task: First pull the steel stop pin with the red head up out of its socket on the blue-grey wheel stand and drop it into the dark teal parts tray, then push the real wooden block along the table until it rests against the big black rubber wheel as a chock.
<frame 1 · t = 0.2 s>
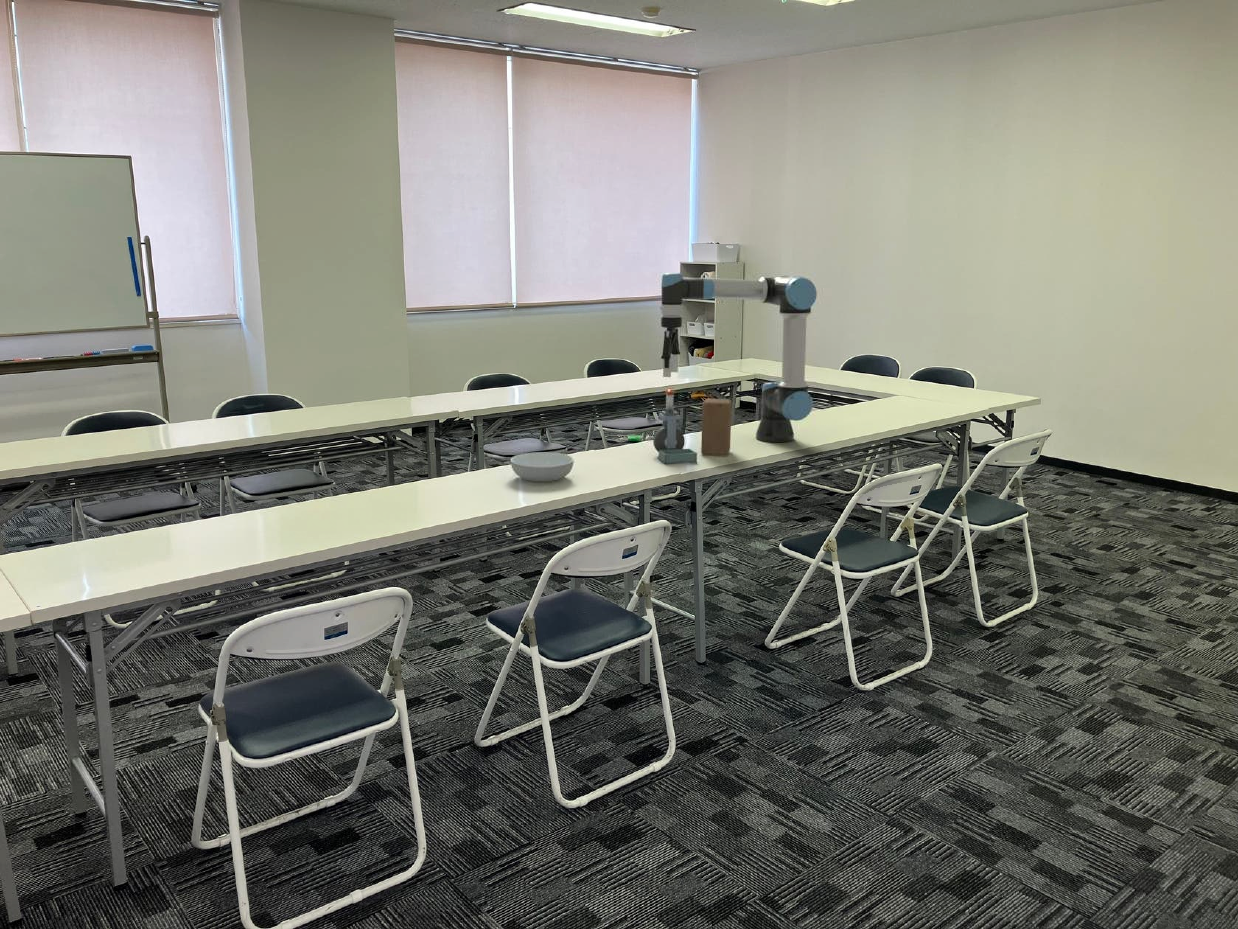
hand: (670, 374, 342), 29 cm above the table, fingers open, 13 cm apart
wooden block: (715, 454, 348), on the table
serving bowl: (542, 479, 308), on the table
wheel stand: (668, 455, 343), on the table
parts tray: (677, 461, 335), on the table
stop pin: (669, 414, 340), point 15 cm above the table, touching wheel stand
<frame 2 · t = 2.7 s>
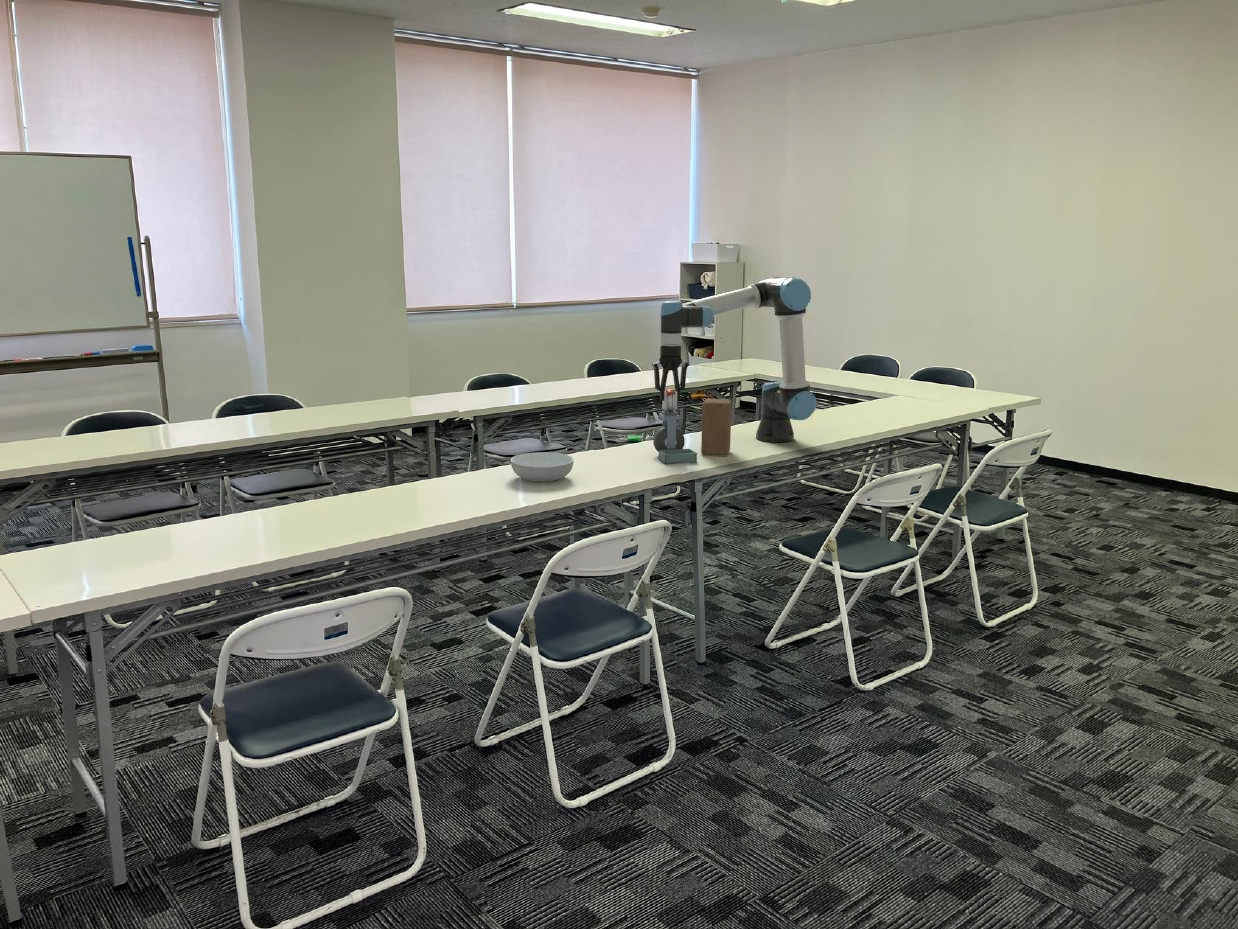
hand: (669, 408, 339), 18 cm above the table, fingers closed on stop pin, 3 cm apart
stop pin: (669, 414, 340), point 16 cm above the table, touching gripper, wheel stand
everything else where it was.
when the fingers open (5 cm above the table, at t = 7.7 s): stop pin drops 2 cm, resting on parts tray.
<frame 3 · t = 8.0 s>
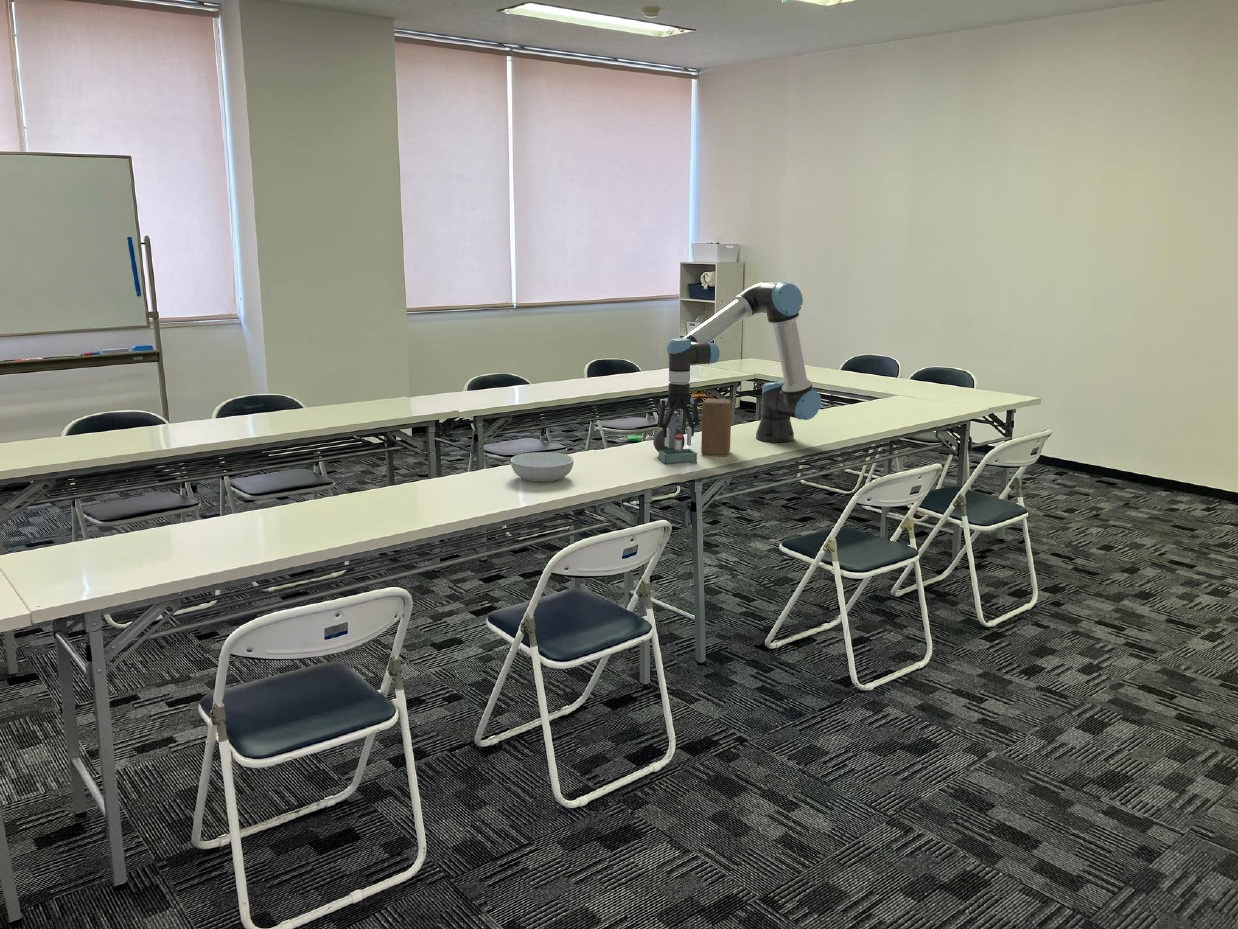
hand: (677, 445, 334), 6 cm above the table, fingers open, 8 cm apart
stop pin: (677, 459, 335), point 1 cm above the table, touching parts tray
everything else where it was.
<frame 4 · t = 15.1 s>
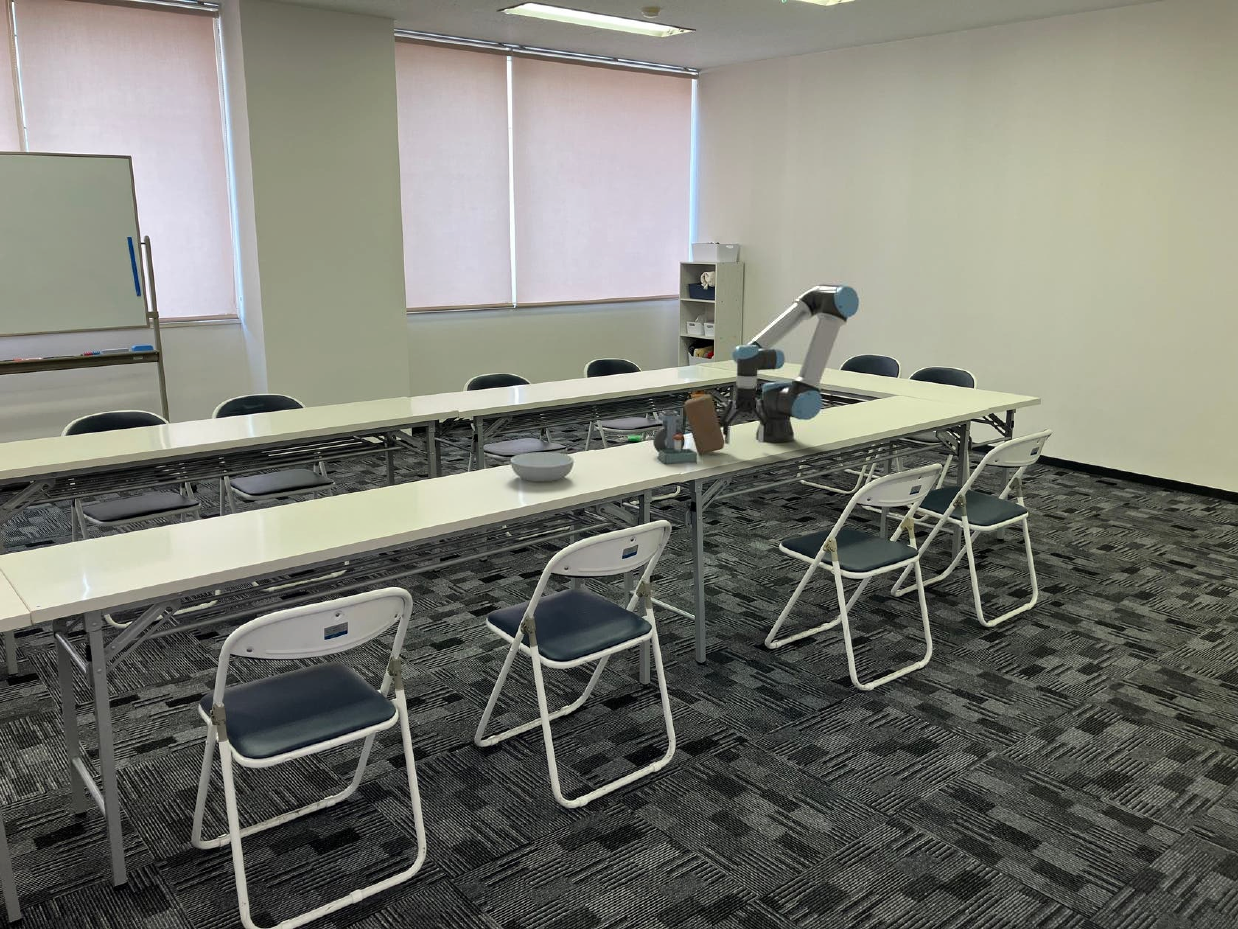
hand: (743, 442, 350), 3 cm above the table, fingers open, 13 cm apart
wooden block: (711, 450, 347), point 1 cm above the table, touching gripper, hand
everything else where it was.
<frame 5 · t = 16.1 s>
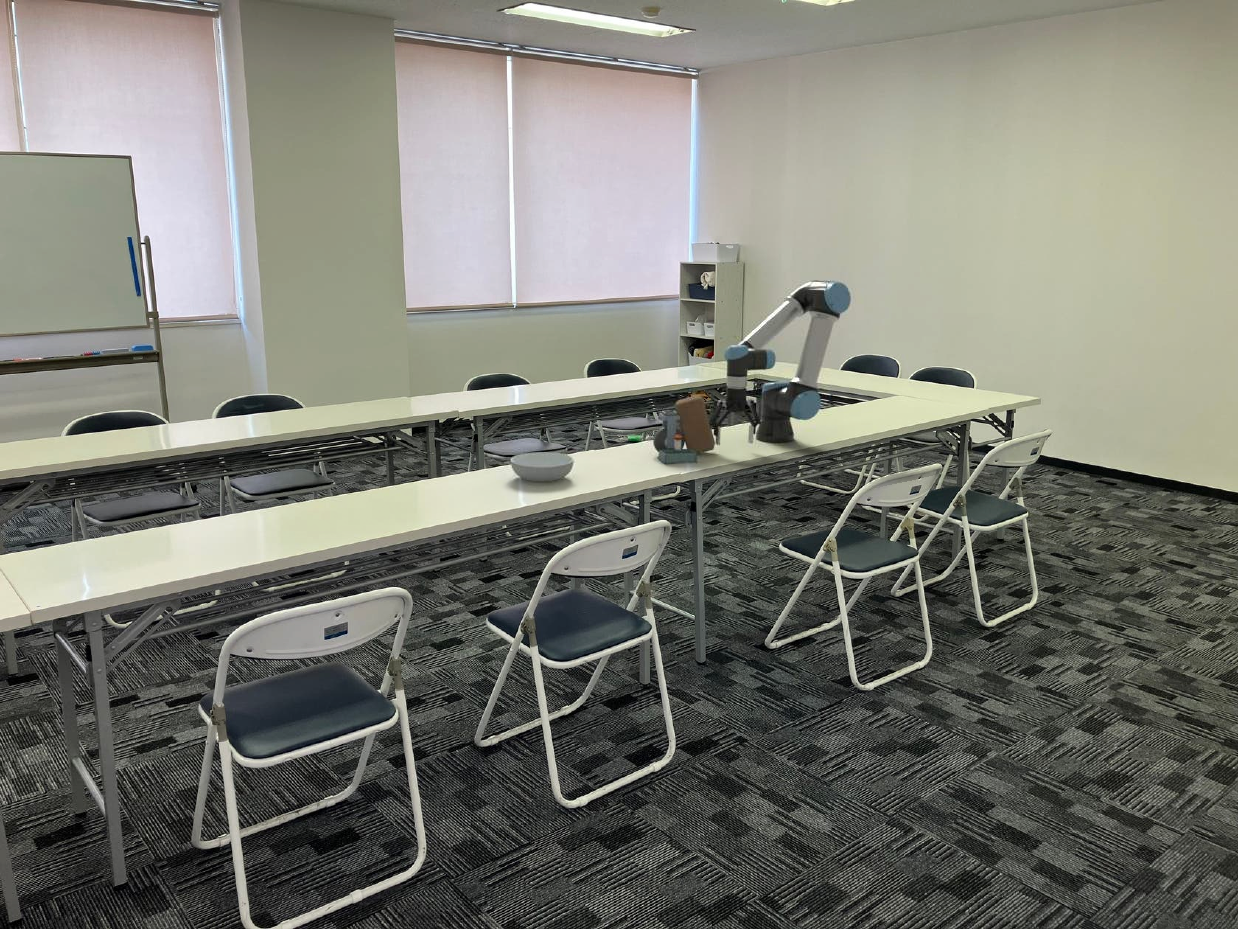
hand: (734, 443, 349), 3 cm above the table, fingers open, 12 cm apart
wooden block: (702, 450, 347), point 1 cm above the table, touching hand, wheel stand
everything else where it was.
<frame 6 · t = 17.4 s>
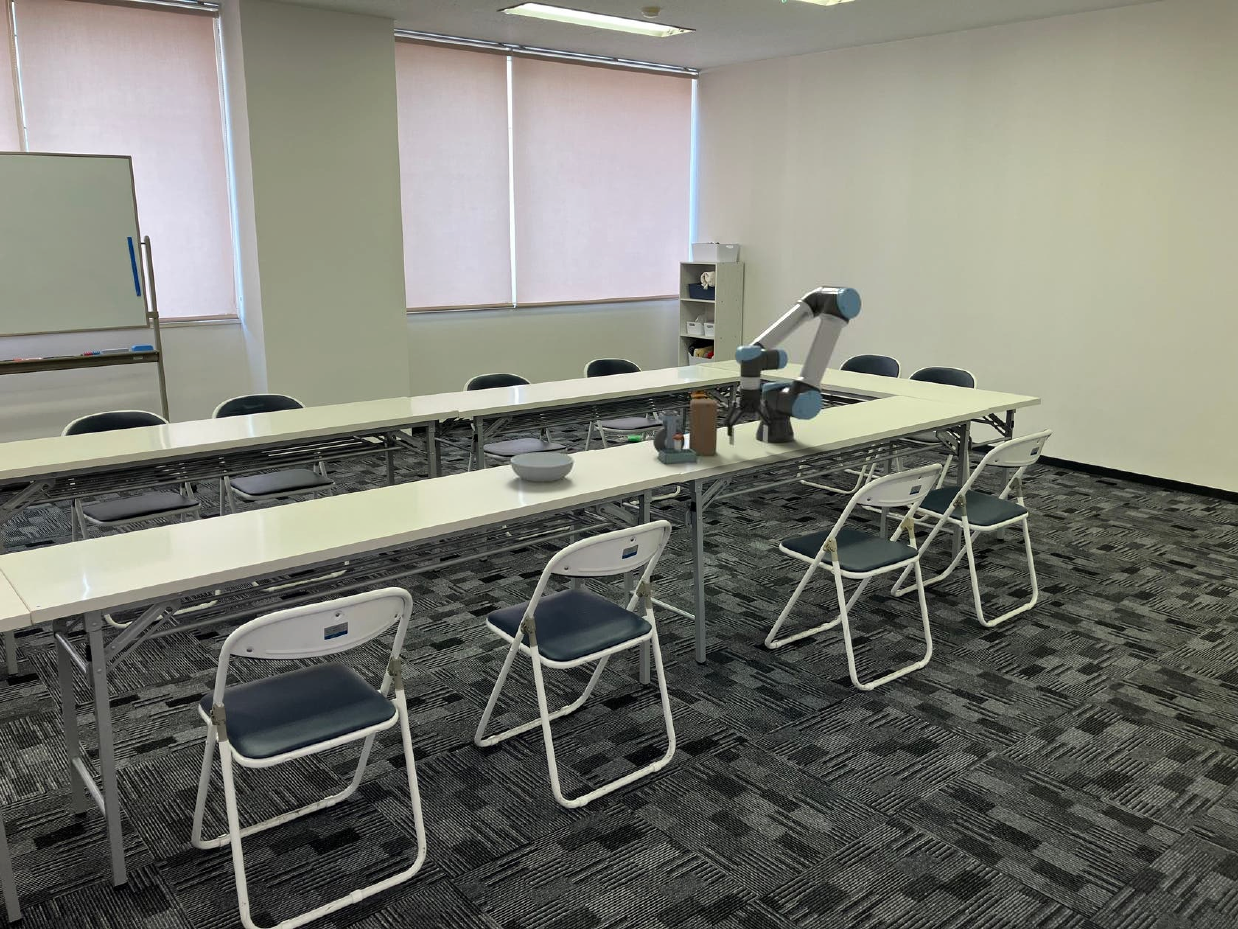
hand: (748, 443, 351), 3 cm above the table, fingers open, 13 cm apart
wooden block: (702, 454, 347), on the table
everything else where it was.
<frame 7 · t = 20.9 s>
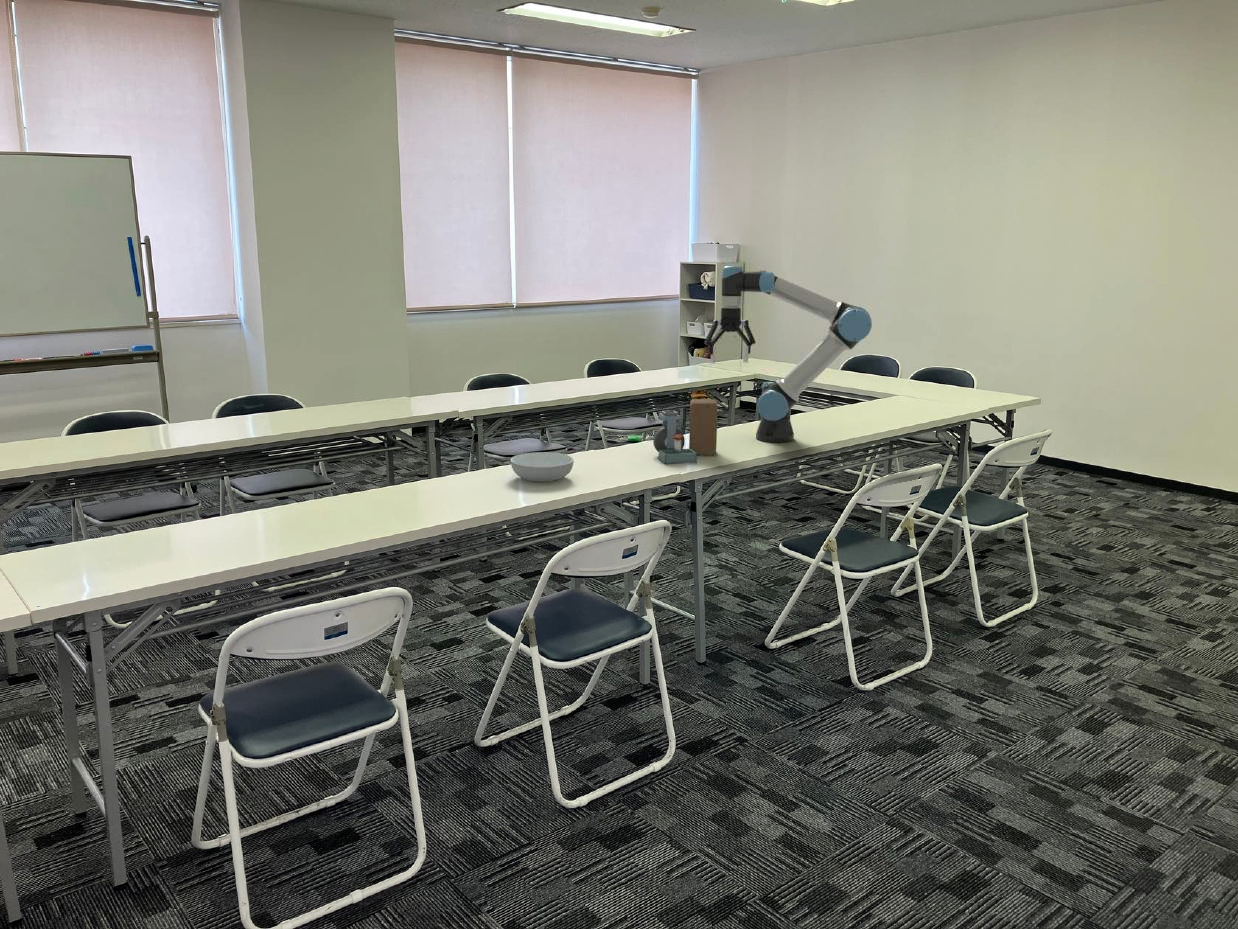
hand: (729, 362, 359), 32 cm above the table, fingers open, 13 cm apart
nothing on the table moved.
at the end: wooden block inside the target area (3.1 cm from its centre), on the table; wooden block tilted 0°; stop pin inside the target area on the parts tray (0.0 cm from its centre), point 0.5 cm above the parts tray's base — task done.
